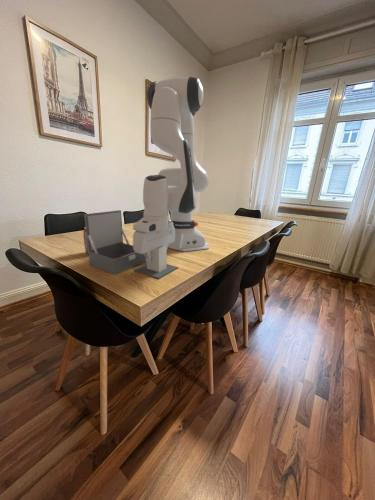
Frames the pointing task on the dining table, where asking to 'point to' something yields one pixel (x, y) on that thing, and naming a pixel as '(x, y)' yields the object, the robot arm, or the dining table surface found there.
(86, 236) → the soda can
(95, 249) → the case
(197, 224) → the robot arm
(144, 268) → the mat
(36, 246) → the dining table surface
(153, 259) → the block
